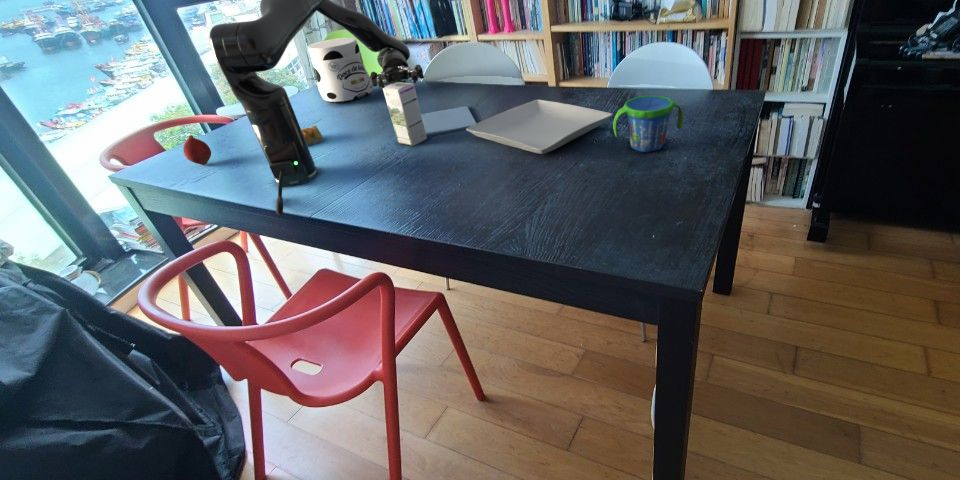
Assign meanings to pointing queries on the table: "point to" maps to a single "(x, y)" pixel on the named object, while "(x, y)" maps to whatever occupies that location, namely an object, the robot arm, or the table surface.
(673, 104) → the snack cup
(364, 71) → the doce de leite tin
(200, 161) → the onion
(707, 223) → the table surface
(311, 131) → the pastry
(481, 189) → the table surface
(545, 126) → the square plate
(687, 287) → the table surface
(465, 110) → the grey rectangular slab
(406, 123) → the syrup box
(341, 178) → the table surface
